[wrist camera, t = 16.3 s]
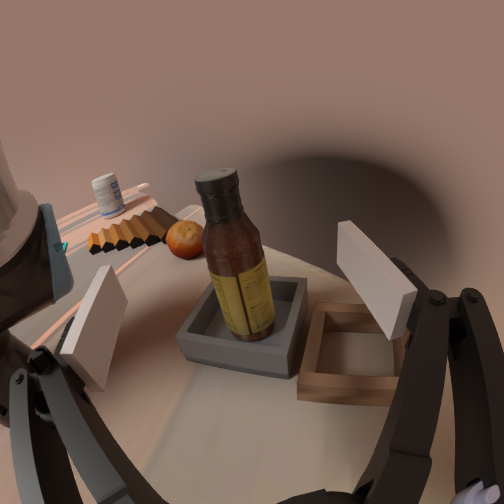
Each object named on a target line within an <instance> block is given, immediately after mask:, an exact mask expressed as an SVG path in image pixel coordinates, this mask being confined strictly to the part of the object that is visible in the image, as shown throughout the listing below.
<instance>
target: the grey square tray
mask: <svg viewBox="0 0 504 504" xmlns="http://www.w3.org/2000/svg"><path fill="white" fill-rule="evenodd" d="M268 277H269V282H270V287H271V293H272V299H273V304H274V309H275V325H274V329H273V330H272V332H271V333H270V334H269V335H268V336H266V337H264V338H262V339H260V340H257V341H243V340H238V339H237V338H235V337H234V335H233V334H232V333H231V331H230V329H229V328H228V327H227V324H226V321H225V318H224V315H223V312H222V309H221V306H220V303H219V300H218V297H217V294H216V291H215V288H214V285H213V282H211V283H210V284H209V286H208V287H207V289H206V290H205V292H204V293H203V295H202V296H201V298H200V299H199V301H198V302H197V304H196V305H195V307H194V308H193V310H192V311H191V313H190V314H189V316H188V317H187V319H186V320H185V322H184V323H183V325H182V326H181V328H180V329H179V331H178V332H177V334H176V335H175V338H176V340H177V342H178V344H179V346H180V348H181V350H182V352H183V354H184V356H185V358H186V360H189V361H193V362H197V363H201V364H206V365H210V366H215V367H219V368H224V369H229V370H234V371H239V372H245V373H250V374H256V375H262V376H268V377H275V378H282V379H289V376H290V373H291V369H292V365H293V361H294V358H295V354H296V350H297V346H298V342H299V338H300V334H301V330H302V325H303V321H304V317H305V313H306V308H307V304H308V300H307V278H297V277H280V276H268Z"/></svg>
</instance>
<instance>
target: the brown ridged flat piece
mask: <svg viewBox="0 0 504 504" xmlns="http://www.w3.org/2000/svg"><path fill="white" fill-rule="evenodd" d="M177 222H178V220H177V219H175V218H174V217H173V216H171V215H170V214H169V213H167V212H166V211H165V210H163V209H162V208H159V207H156V206H155V207H154V209H153V210H152V212H148V211H145V210H144V212H143V213H142V215H141V216H137V215H133V217H132V218H131V220H130V221H129V220H125V219H123V220H122V222H121V223H120V225H116V224H112V225H111V227H110V228H109V230H108V229H103V228H102V229H101V230H100V232H99V234H94V233H91V234H90V236H89V238H88V246H89V251H90V252H91V254H92V255H94V254H96V253H98V252H101V249H102V250H103V251H104V252H105V253H107V252H109V251H111V250H113V249H114V246H115V247H116V249H117V250H118V251H120V250H122V249H125V248H127V247H128V246H127V241H128V243H129V245H130V246H131V247H132V248H133V249H134V248H136V247H139V246H141V245H142V239H143V241H144V242H145V243H146V244H147V246H148V247H149V246H151V245H154V244H156V243H158V238H159V239H160V240H161V241H162V242H163V243H164V244H167V243H166V236H167V233H168V230H169V229H170V228H171V227H172V226H173V225H174V224H175V223H177Z"/></svg>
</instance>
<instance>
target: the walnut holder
mask: <svg viewBox="0 0 504 504" xmlns="http://www.w3.org/2000/svg"><path fill="white" fill-rule="evenodd" d="M324 331H339V332H357V333H384V332H383V330H382V329H381V327H380V325H379V324H378V322H377V321H376V319H375V318H374V316H373V315H372V313H371V312H370V310H369V309H368V307H367V306H366V305H363V304H342V303H325V302H315V304H314V309H313V314H312V319H311V324H310V329H309V333H308V338H307V343H306V347H305V351H304V356H303V360H302V364H301V369H300V373H299V377H298V381H297V400H302V401H311V402H320V403H331V404H346V405H368V406H391V404H392V401H393V397H394V394H395V390H396V387H397V383H398V380H399V376H400V372H401V368H402V364H403V360H404V356H405V351H406V348H404V347H405V344H406V342H407V339H408V337H409V334H410V332H409V330H408V329H407V327H406V329H405V331H404V334H403V336H401V337H399V338H396V339H393V349H394V372H395V377H378V376H352V375H336V374H323V373H317V372H318V366H319V361H320V355H321V350H322V344H323V338H324ZM384 334H385V333H384Z"/></svg>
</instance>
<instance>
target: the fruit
mask: <svg viewBox="0 0 504 504" xmlns="http://www.w3.org/2000/svg"><path fill="white" fill-rule="evenodd" d="M203 231H204V229H203V227H202V226H200V225H198V224H197V223H196V222H193V221H184V220H181V221H178V222H177V223H175V224H174V225H173V226H172V227H171V228H170V229H169V230H168V233H167V236H166V243H167V245H168V247H169V249H170V250H171V252H172V253H173V255H175V256H177V257H179V258H182V259H185V260H189V259H191V258H193V257H195V256H196V255H197V254H199V253H200V252H201V251H202V250H203V246H202V242H201V240H202V234H203Z"/></svg>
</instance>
